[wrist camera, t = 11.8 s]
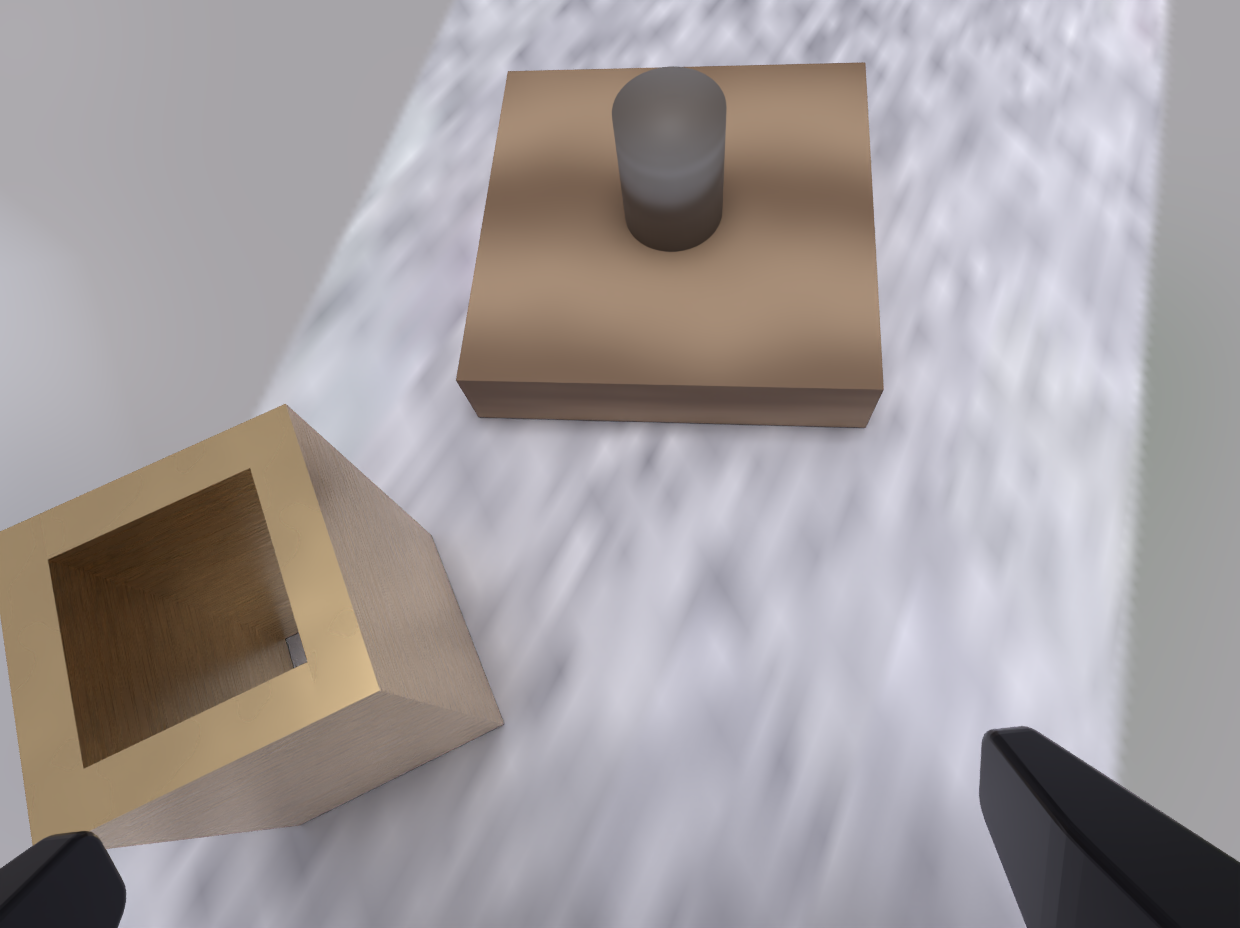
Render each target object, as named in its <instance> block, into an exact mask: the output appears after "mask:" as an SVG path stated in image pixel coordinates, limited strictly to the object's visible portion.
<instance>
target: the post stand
mask: <svg viewBox="0 0 1240 928" xmlns="http://www.w3.org/2000/svg"><path fill="white" fill-rule="evenodd" d="M456 381H457V383H458V384H459V386H460V388H461V389H462V391H463V393H464V394H465V396H466V397H467V399H468V401H469V402H470V404H471V406H472V407H473V409H474V410H475V412H476V414H477V415H478V417H493V418H530V419H567V420H604V421H641V422H678V423H714V424H751V425H788V426H825V427H862V428H866V426H867V423H868V421H869V419H870V417H871V415H872V413H873V411H874V409H875V407H876V405H877V402H878V400H879V398H880V396H881V394H882V392H883V390H884V388H883V370H882V352H881V334H880V316H879V299H878V281H877V263H876V245H875V227H874V209H873V191H872V174H871V156H870V138H869V120H868V102H867V84H866V67H865V63H827V64H786V65H746V66H705V67H662V68H624V69H583V70H543V71H508V74H507V80H506V86H505V92H504V98H503V103H502V109H501V115H500V121H499V127H498V133H497V139H496V145H495V151H494V157H493V163H492V169H491V175H490V181H489V187H488V193H487V199H486V205H485V211H484V217H483V223H482V229H481V235H480V241H479V247H478V252H477V258H476V264H475V270H474V276H473V282H472V288H471V294H470V300H469V306H468V312H467V318H466V324H465V330H464V336H463V342H462V348H461V354H460V360H459V366H458V372H457V378H456Z"/></svg>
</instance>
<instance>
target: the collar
mask: <svg viewBox="0 0 1240 928" xmlns="http://www.w3.org/2000/svg"><path fill="white" fill-rule="evenodd" d="M0 615H1V623H2V630H3V638H4V645H5V652H6V659H7V666H8V673H9V680H10V687H11V694H12V702H13V709H14V716H15V723H16V730H17V737H18V744H19V752H20V759H21V765H22V773H23V780H24V787H25V794H26V801H27V809H28V816H29V823H30V830H31V837H32V844H33V845H35V844H36V843H37V842H39V841H40V840H42V839H44V838H46V837H48V836H51V835H54V834H60V833H69V832H78V831H90V832H92V833H94V834H96V835H97V836H98V837H99V838H100V840H101V841H102V843H103V845H104V847H105V849H110V848H118V847H126V846H134V845H143V844H151V843H159V842H167V841H176V840H184V839H192V838H200V837H209V836H217V835H225V834H233V833H242V832H250V831H258V830H266V829H274V828H283V827H291V826H299V825H301V824H303V823H305V822H307V821H309V820H311V819H313V818H315V817H317V816H319V815H321V814H323V813H325V812H328V811H330V810H332V809H334V808H336V807H338V806H340V805H342V804H344V803H346V802H348V801H350V800H352V799H354V798H356V797H358V796H360V795H362V794H364V793H366V792H368V791H370V790H372V789H374V788H376V787H378V786H380V785H382V784H384V783H386V782H388V781H390V780H392V779H394V778H396V777H398V776H400V775H402V774H404V773H406V772H408V771H410V770H412V769H415V768H417V767H419V766H421V765H423V764H425V763H427V762H429V761H431V760H433V759H435V758H437V757H439V756H441V755H443V754H445V753H447V752H449V751H451V750H453V749H455V748H457V747H459V746H461V745H463V744H465V743H467V742H469V741H471V740H473V739H475V738H477V737H479V736H481V735H483V734H485V733H487V732H489V731H491V730H493V729H495V728H497V727H499V726H501V725H504V722H503V720H502V717H501V714H500V712H499V709H498V707H497V704H496V701H495V699H494V696H493V694H492V691H491V688H490V686H489V683H488V681H487V678H486V675H485V673H484V670H483V668H482V665H481V663H480V660H479V657H478V655H477V652H476V650H475V647H474V644H473V642H472V639H471V637H470V634H469V631H468V629H467V626H466V624H465V621H464V619H463V616H462V613H461V611H460V608H459V606H458V603H457V600H456V598H455V595H454V593H453V590H452V587H451V585H450V582H449V580H448V577H447V574H446V572H445V569H444V567H443V564H442V562H441V559H440V556H439V554H438V551H437V549H436V546H435V543H434V541H433V538H432V536H431V535H430V534H429V533H428V532H427V531H426V530H425V529H424V528H423V527H422V526H421V525H419V524H418V523H417V522H416V521H415V520H414V519H413V518H412V517H411V516H409V515H408V514H407V513H406V512H405V511H404V510H403V509H402V508H401V507H399V506H398V505H397V504H396V503H395V502H394V501H393V500H392V499H391V498H389V497H388V496H387V495H386V494H385V493H384V492H383V491H382V490H381V489H380V488H378V487H377V486H376V485H375V484H374V483H373V482H372V481H371V480H370V479H368V478H367V477H366V476H365V475H364V474H363V473H362V472H361V471H360V470H358V469H357V468H356V467H355V466H354V465H353V464H352V463H351V462H350V461H348V460H347V459H346V458H345V457H344V456H343V455H342V454H341V453H340V452H338V451H337V450H336V449H335V448H334V447H333V446H332V445H331V444H330V443H329V442H327V441H326V440H325V439H324V438H323V437H322V436H321V435H320V434H319V433H317V432H316V431H315V430H314V429H313V428H312V427H311V426H310V425H309V424H307V423H306V422H305V421H304V420H303V419H302V418H301V417H300V416H299V415H297V414H296V413H295V412H294V411H293V410H292V409H291V408H290V407H289V406H288V405H286V404H284V405H282V406H279V407H277V408H275V409H273V410H270V411H268V412H266V413H264V414H262V415H259V416H257V417H255V418H253V419H250V420H248V421H246V422H244V423H241V424H239V425H237V426H235V427H233V428H230V429H228V430H226V431H224V432H222V433H219V434H217V435H215V436H213V437H210V438H208V439H206V440H204V441H201V442H199V443H197V444H195V445H192V446H190V447H188V448H186V449H183V450H181V451H179V452H177V453H175V454H172V455H170V456H168V457H166V458H163V459H161V460H159V461H157V462H155V463H152V464H150V465H148V466H146V467H143V468H141V469H139V470H137V471H134V472H132V473H130V474H128V475H125V476H123V477H121V478H119V479H116V480H114V481H112V482H110V483H108V484H105V485H103V486H101V487H99V488H97V489H95V490H92V491H90V492H87V493H85V494H83V495H81V496H79V497H76V498H74V499H72V500H70V501H67V502H65V503H63V504H61V505H59V506H56V507H54V508H52V509H50V510H47V511H45V512H43V513H41V514H38V515H36V516H34V517H32V518H30V519H27V520H25V521H23V522H21V523H18V524H16V525H14V526H12V527H9V528H7V529H5V530H3V531H0ZM298 632H299V635H300V638H301V641H302V645H303V648H304V651H305V655H306V658H307V662H306V663H304V664H302V665H300V666H298V667H296V668H293V664H292V661H291V657H290V654H289V650H288V647H287V643H286V640H285V639H286V638H288V637H290V636H292V635H294V634H296V633H298Z"/></svg>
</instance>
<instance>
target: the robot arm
mask: <svg viewBox="0 0 1240 928" xmlns="http://www.w3.org/2000/svg"><path fill="white" fill-rule="evenodd" d="M979 798H980V805H981V809H982V813H983V816H984V819H985V822H986V825H987V827H988V830H989V832H990V835H991V837H992V840H993V842H994V845H995V848H996V850H997V853H998V855H999V858H1000V860H1001V863H1002V865H1003V868H1004V870H1005V873H1006V876H1007V878H1008V881H1009V883H1010V886H1011V888H1012V891H1013V893H1014V896H1015V899H1016V901H1017V904H1018V906H1019V909H1020V911H1021V914H1022V916H1023V919H1024V921H1025V924H1026V927H1027V928H1240V862H1238V861H1236V860H1235V859H1234V858H1232V857H1231V856H1229V855H1228V854H1226V853H1224V852H1223V851H1221V850H1220V849H1218V848H1217V847H1215V846H1214V845H1212V844H1211V843H1209V842H1208V841H1206V840H1204V839H1203V838H1201V837H1200V836H1198V835H1197V834H1195V833H1193V832H1192V831H1191V830H1189V829H1187V828H1186V827H1184V826H1183V825H1181V824H1180V823H1178V822H1177V821H1175V820H1174V819H1172V818H1170V817H1169V816H1167V815H1166V814H1164V813H1163V812H1161V811H1160V810H1158V809H1156V808H1155V807H1154V806H1152V805H1150V804H1149V803H1147V802H1146V801H1144V800H1143V799H1141V798H1140V797H1138V796H1137V795H1135V794H1133V793H1132V792H1130V791H1129V790H1127V789H1126V788H1124V787H1123V786H1121V785H1120V784H1118V783H1117V782H1115V781H1113V780H1112V779H1110V778H1109V777H1107V776H1106V775H1104V774H1103V773H1101V772H1100V771H1098V770H1096V769H1095V768H1093V767H1092V766H1090V765H1089V764H1087V763H1086V762H1084V761H1083V760H1081V759H1079V758H1078V757H1076V756H1075V755H1073V754H1072V753H1070V752H1069V751H1067V750H1066V749H1064V748H1063V747H1061V746H1059V745H1058V744H1056V743H1055V742H1053V741H1052V740H1050V739H1049V738H1047V737H1046V736H1044V735H1042V734H1041V733H1039V732H1038V731H1036V730H1034V729H1032V728H1029V727H1025V726H1019V727H1010V728H1001V729H992V730H989V731H987V732H986V733H985V734H984V736H983V739H982V747H981V766H980V785H979ZM125 903H126V889H125V884H124V882H123V880H122V878H121V876H120V874H119V873H118V871H117V869H116V867H115V865H114V863H113V861H112V860H111V858H110V856H109V854H108V852H107V850H106V849H105V847H104V845H103V843H102V841H101V840H100V838H99V837H98V836H97V835H96V834H94V833H92V832H90V831H78V832H69V833H60V834H54V835H51V836H48V837H46V838H44V839H42V840H40V841H39V842H37V843H36V844H35V845H33V846H32V847H30V848H29V849H28V850H26V851H25V852H23V853H22V854H20V855H19V856H17V857H16V858H15V859H13V860H12V861H10V862H9V863H8V864H6V865H5V866H3V867H2V868H0V928H118V926H119V923H120V920H121V918H122V915H123V912H124V909H125Z"/></svg>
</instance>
